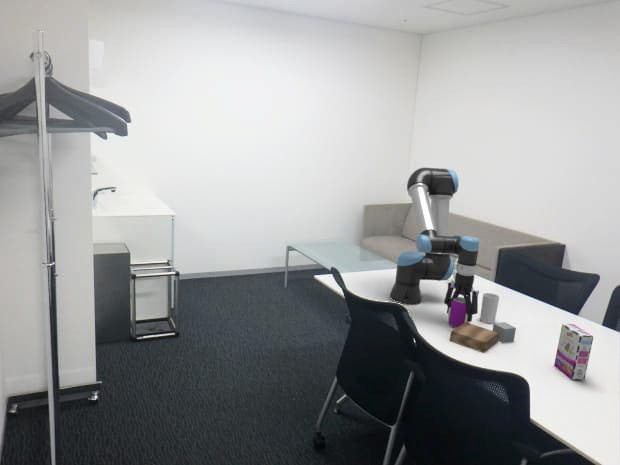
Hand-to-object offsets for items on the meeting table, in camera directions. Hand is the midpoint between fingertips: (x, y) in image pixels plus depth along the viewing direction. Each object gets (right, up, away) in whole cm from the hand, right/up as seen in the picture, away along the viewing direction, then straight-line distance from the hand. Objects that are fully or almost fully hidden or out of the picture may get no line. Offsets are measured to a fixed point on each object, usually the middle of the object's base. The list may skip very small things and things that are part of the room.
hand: (457, 324), depth 209 cm
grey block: (+15, -4, -10) cm, 19 cm away
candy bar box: (+29, -11, -36) cm, 47 cm away
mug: (+16, 0, +11) cm, 19 cm away
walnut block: (+2, -4, -15) cm, 15 cm away
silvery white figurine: (+18, +10, +58) cm, 62 cm away
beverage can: (0, -1, 0) cm, 1 cm away
